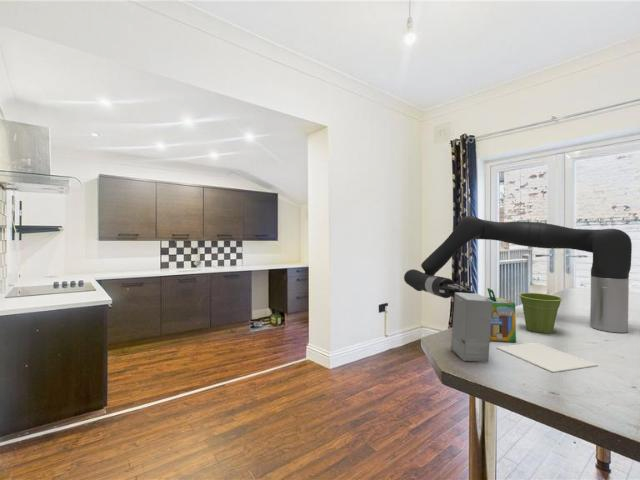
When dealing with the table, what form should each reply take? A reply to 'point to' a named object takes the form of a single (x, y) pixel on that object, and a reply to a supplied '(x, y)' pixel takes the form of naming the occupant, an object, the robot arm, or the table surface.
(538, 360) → the mat
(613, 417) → the table surface
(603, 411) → the table surface
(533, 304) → the plant pot
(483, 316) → the skincare box
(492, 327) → the chalk box
